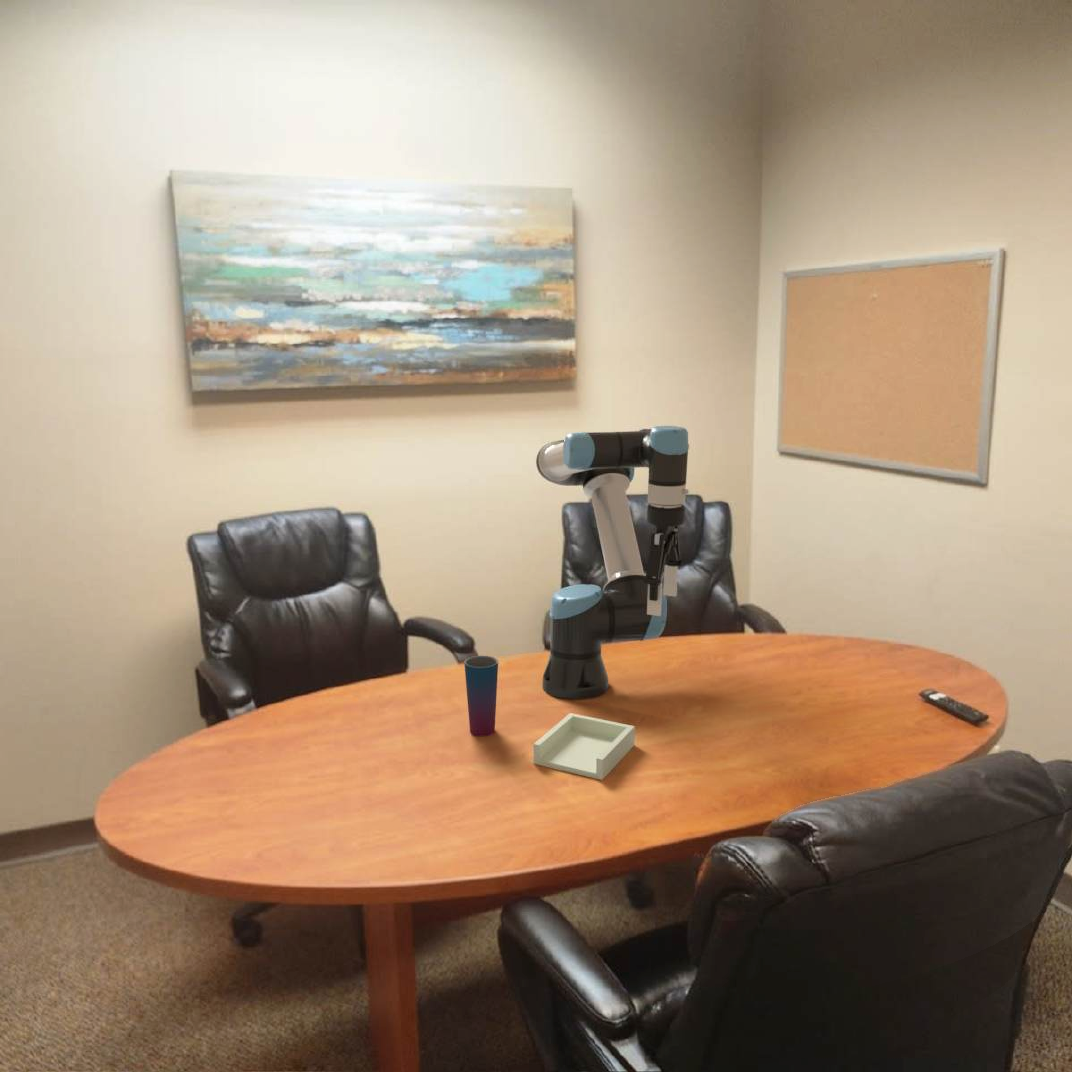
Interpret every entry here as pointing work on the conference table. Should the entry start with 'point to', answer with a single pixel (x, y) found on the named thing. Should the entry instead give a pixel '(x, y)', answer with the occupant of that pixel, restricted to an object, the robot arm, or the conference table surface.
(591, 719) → the open sided tray
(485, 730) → the cup
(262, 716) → the conference table surface
